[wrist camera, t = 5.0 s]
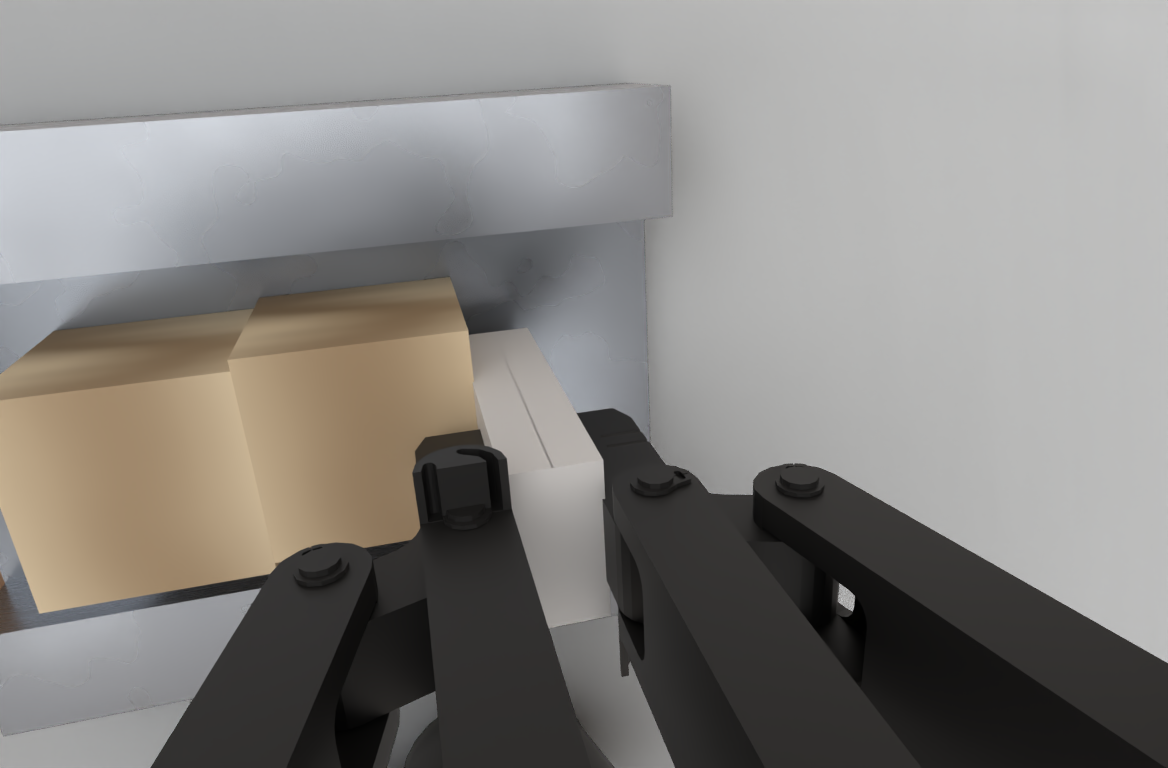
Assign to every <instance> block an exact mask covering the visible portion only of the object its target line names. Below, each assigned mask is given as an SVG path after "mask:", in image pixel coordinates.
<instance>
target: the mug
mask: <svg viewBox="0 0 1168 768" xmlns="http://www.w3.org/2000/svg"><path fill="white" fill-rule="evenodd" d="M576 719H577V718H576ZM577 722H578V726H579V729H580V732H581V735H582V739H583V742H584V745H585V748H586V752H587V755H588V758H589V761H590V765H591V768H614V767H613V765H612V764H611V763H610V762H609V760H608V759H607V758H606V756H605V755H604V754H603V753H602V752H601V750H600V749H599V748H598V747H597V746H596V744H595V743H594V742H593V741H592V740H591V738H590V737H589V736H588V735H587V733H586V732H585V731H584V729H583V728H582V726H581V724H580V723H579V721H578V720H577ZM404 768H443V764H442V753H441V743H440V732H439V722H438V718H437V719H436V720H434V721H433V722H432V723H431V724H430V725H429V726H428V727H427V728H426V729H425V730H424V731H423V733H422V734H421V735H420V736H419V737H418V739H417V740H416V741H415V743H414V745H413V747H412V749H411V750H410V752H409V754H408V756H407V758H406V762H405V767H404Z"/></svg>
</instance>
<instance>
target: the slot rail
mask: <svg viewBox="0 0 1168 768" xmlns="http://www.w3.org/2000/svg"><path fill="white" fill-rule="evenodd" d="M663 217H672V150H671V86H668V85H651V84H634V83H621V84H607V85H592V86H577V87H562V88H547V89H532V90H517V91H502V92H488V93H473V94H458V95H443V96H428V97H413V98H398V99H383V100H369V101H354V102H339V103H324V104H309V105H294V106H279V107H264V108H250V109H235V110H220V111H205V112H190V113H175V114H160V115H145V116H131V117H116V118H101V119H86V120H71V121H56V122H41V123H27V124H12V125H0V374H1V373H2V372H4V371H5V370H6V369H7V368H9V367H10V366H11V365H12V364H14V363H15V362H16V361H17V360H19V359H20V358H21V357H22V356H23V355H25V354H26V353H27V352H28V351H30V350H31V349H32V348H33V347H35V346H36V345H37V344H38V343H40V342H41V341H42V340H43V339H44V338H46V337H47V336H48V335H49V334H51V333H52V332H53V331H57V330H66V329H75V328H84V327H93V326H102V325H111V324H120V323H129V322H138V321H146V320H155V319H164V318H173V317H182V316H191V315H200V314H209V313H218V312H227V311H236V310H245V309H254V307H255V305H256V303H257V301H258V299H259V298H262V297H271V296H280V295H289V294H298V293H308V292H317V291H326V290H335V289H344V288H353V287H362V286H372V285H381V284H390V283H399V282H408V281H417V280H426V279H436V278H445V277H450V279H451V281H452V284H453V287H454V290H455V293H456V296H457V299H458V302H459V305H460V308H461V311H462V314H463V317H464V320H465V322H466V325H467V328H468V333H469V335H472V334H480V333H488V332H496V331H505V330H513V329H521V328H528V330H529V332H530V333H531V335H532V337H533V339H534V340H535V342H536V344H537V346H538V347H539V349H540V351H541V352H542V354H543V356H544V358H545V359H546V361H547V363H548V365H549V366H550V368H551V370H552V372H553V373H554V375H555V377H556V379H557V380H558V382H559V384H560V386H561V387H562V389H563V391H564V392H565V394H566V396H567V398H568V399H569V401H570V403H571V405H572V406H573V408H574V410H575V412H576V413H581V412H588V411H595V410H602V409H608V408H614V409H616V410H618V411H620V412H622V413H624V414H626V415H628V416H630V417H631V418H632V419H633V421H634V422H635V423H636V425H637V426H638V427H639V429H640V432H642V433H643V434H644V436H645V437H646V438H647V442H648V441H649V443H650V420H649V385H648V349H647V313H646V278H645V242H644V219H653V218H663ZM410 541H411V540H408V541H402V542H396V543H390V544H384V545H378V546H372V547H367V548H365V549H366V550H367V551H368V552H369V554H370V555H371V556H372V558H373V560H374V559H377V558H380V557H382V556H385V555H387V554H389V553H392V552H394V551H396V550H398V549H400V548H401V547H403V546H404V545H406V544H407V543H409V542H410ZM280 563H281V562H279V564H280ZM0 572H1V574H2V577H3V580H4V582H5V584H4V585H3V586H2V588H1V589H0V730H1V732H2V734H3V736H8V735H13V734H18V733H23V732H29V731H34V730H39V729H44V728H49V727H54V726H59V725H64V724H69V723H74V722H79V721H84V720H89V719H94V718H99V717H104V716H109V715H114V714H119V713H125V712H130V711H135V710H140V709H145V708H150V707H155V706H160V705H165V704H170V703H175V702H180V701H185V700H190V699H193V698H194V697H195V695H196V694H197V692H198V690H199V689H200V687H201V685H202V684H203V682H204V681H205V679H206V677H207V676H208V674H209V672H210V671H211V669H212V668H213V666H214V664H215V663H216V661H217V660H218V658H219V656H220V655H221V653H222V651H223V650H224V648H225V647H226V645H227V643H228V642H229V640H230V638H231V637H232V635H233V634H234V632H235V630H236V629H237V627H238V626H239V624H240V622H241V621H242V619H243V617H244V616H245V614H246V613H247V611H248V609H249V608H250V606H251V604H252V603H253V601H254V600H255V598H256V596H257V595H258V593H259V591H260V590H261V588H262V587H263V585H264V583H265V582H266V580H267V579H268V577H269V575H270V574H266V575H261V576H255V577H249V578H243V579H237V580H232V581H226V582H220V583H214V584H208V585H203V586H197V587H191V588H185V589H179V590H174V591H168V592H162V593H156V594H150V595H145V596H139V597H133V598H127V599H121V600H116V601H110V602H104V603H98V604H92V605H87V606H81V607H75V608H69V609H64V610H58V611H52V612H46V613H40V614H39V611H38V608H37V606H36V603H35V600H34V598H33V595H32V592H31V590H30V587H29V584H28V581H27V579H26V576H25V573H24V571H23V568H22V565H21V563H20V560H19V557H18V554H17V552H16V549H15V546H14V544H13V541H12V538H11V536H10V533H9V530H8V528H7V525H6V522H5V519H4V517H3V514H2V511H1V509H0ZM610 603H611V616H615V615H618V605H617V603H616V600H615V598H614V596H613V594H612V591H611V589H610ZM609 617H610V616H609ZM604 618H605V617H604ZM599 619H600V618H599ZM558 627H559V626H558ZM553 628H554V627H553Z"/></svg>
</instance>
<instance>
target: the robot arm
mask: <svg viewBox="0 0 1168 768" xmlns="http://www.w3.org/2000/svg"><path fill="white" fill-rule="evenodd" d="M469 342H470V350H471V359H472V368H473V377H474V382H473V391H474V400H475V408H476V417H477V426H478V430H471V431H464V432H457V433H450V434H444V435H437V436H430V437H425V438H424V440H423V441H422V442H421V444H420V445H419V446H418V448H417V449H416V450H415V459H416V464H415V466H414V469H413V472H412V475H413V482H414V489H415V495H416V502H417V509H418V516H419V522H420V529H419V531H418V533H417V534H416V536H415V537H414V538H413V539H412V540H411V541H410V542H409V543H407V544H406V545H404V546H403V547H401V548H400V549H398V550H396V551H394V552H392V553H389V554H387V555H385V556H382V557H380V558H377V559H374V560H373V558H372V556H371V555H370V554H369V552H368V551H367V550H366V549H365V548H363V547H360V546H358V545H355V544H352V543H338V542H335V543H328V544H318V545H314V546H311V547H310V548H309V547H307V548H305V549H302V550H300V551H298V552H296V553H295V554H293V555H291V556H290V557H288V558H286V559H285V560H283V561H282V562H281V563H280V564H279V565H278V566H277V567H276V568H275V569H274V570H273V571H272V572H271V574H270V575H269V577H268V579H267V580H266V582H265V583H264V585H263V587H262V588H261V590H260V591H259V593H258V595H257V596H256V598H255V600H254V601H253V603H252V604H251V606H250V608H249V609H248V611H247V613H246V614H245V616H244V617H243V619H242V621H241V622H240V624H239V626H238V627H237V629H236V630H235V632H234V634H233V635H232V637H231V638H230V640H229V642H228V643H227V645H226V647H225V648H224V650H223V651H222V653H221V655H220V656H219V658H218V660H217V661H216V663H215V664H214V666H213V668H212V669H211V671H210V672H209V674H208V676H207V677H206V679H205V681H204V682H203V684H202V685H201V687H200V689H199V690H198V692H197V694H196V695H195V697H194V698H193V700H192V702H191V703H190V705H189V707H188V708H187V710H186V711H185V713H184V715H183V716H182V718H181V719H180V721H179V723H178V724H177V726H176V728H175V729H174V731H173V732H172V734H171V736H170V737H169V739H168V741H167V742H166V744H165V745H164V747H163V749H162V750H161V752H160V753H159V755H158V757H157V758H156V760H155V762H154V763H153V765H152V766H151V768H387V766H388V762H389V759H390V755H391V752H392V748H393V745H394V741H395V738H396V734H397V731H398V727H399V717H400V710H399V708H400V707H402V706H404V705H406V704H408V703H410V702H412V701H415V700H417V699H419V698H421V697H423V696H425V695H427V694H430V693H432V692H434V691H436V700H437V711H438V722H439V732H440V743H441V753H442V764H443V768H591V765H590V761H589V758H588V755H587V752H586V748H585V745H584V742H583V739H582V735H581V732H580V729H579V726H578V722H577V719H576V716H575V713H574V709H573V706H572V703H571V700H570V696H569V693H568V690H567V687H566V683H565V680H564V677H563V674H562V670H561V667H560V664H559V661H558V657H557V654H556V651H555V648H554V644H553V641H552V638H551V635H550V631H549V628H553V627H558V626H564V625H569V624H574V623H579V622H584V621H589V620H594V619H599V618H604V617H609V616H611V603H610V589H611V591H612V594H613V596H614V598H615V600H616V603H617V605H618V622H619V644H620V665H621V675H622V677H624V676H628V675H629V669H628V664H629V663H630V661H631V664H632V666H633V669H634V671H635V673H636V676H637V678H638V680H639V683H640V685H641V688H642V690H643V692H644V695H645V697H646V699H647V702H648V704H649V706H650V709H651V711H652V714H653V716H654V718H655V721H656V723H657V725H658V728H659V730H660V733H661V735H662V737H663V740H664V742H665V744H666V747H667V749H668V752H669V754H670V756H671V759H672V761H673V763H674V766H675V768H1168V663H1166V662H1164V661H1163V660H1161V659H1159V658H1157V657H1156V656H1154V655H1152V654H1150V653H1149V652H1147V651H1145V650H1143V649H1142V648H1140V647H1138V646H1136V645H1135V644H1133V643H1131V642H1129V641H1127V640H1126V639H1124V638H1122V637H1120V636H1119V635H1117V634H1115V633H1113V632H1112V631H1110V630H1108V629H1106V628H1105V627H1103V626H1101V625H1099V624H1098V623H1096V622H1094V621H1092V620H1090V619H1089V618H1087V617H1085V616H1083V615H1082V614H1080V613H1078V612H1076V611H1075V610H1073V609H1071V608H1069V607H1068V606H1066V605H1064V604H1062V603H1061V602H1059V601H1057V600H1055V599H1053V598H1052V597H1050V596H1048V595H1046V594H1045V593H1043V592H1041V591H1039V590H1038V589H1036V588H1034V587H1032V586H1031V585H1029V584H1027V583H1025V582H1024V581H1022V580H1020V579H1018V578H1017V577H1015V576H1013V575H1011V574H1009V573H1008V572H1006V571H1004V570H1002V569H1001V568H999V567H997V566H995V565H994V564H992V563H990V562H988V561H987V560H985V559H983V558H981V557H980V556H978V555H976V554H974V553H972V552H971V551H969V550H967V549H965V548H964V547H962V546H960V545H958V544H957V543H955V542H953V541H951V540H950V539H948V538H946V537H944V536H943V535H941V534H939V533H937V532H935V531H934V530H932V529H930V528H928V527H927V526H925V525H923V524H921V523H920V522H918V521H916V520H914V519H913V518H911V517H909V516H907V515H906V514H904V513H902V512H900V511H898V510H897V509H895V508H893V507H891V506H890V505H888V504H886V503H884V502H883V501H881V500H879V499H877V498H876V497H874V496H872V495H870V494H869V493H867V492H865V491H863V490H861V489H860V488H858V487H856V486H854V485H853V484H851V483H849V482H847V481H846V480H844V479H842V478H840V477H839V476H837V475H835V474H833V473H831V472H828V471H826V470H823V469H821V468H817V467H812V466H807V465H805V464H795V465H793V463H792V464H783V465H780V466H775V467H770V468H768V469H766V470H764V471H762V472H760V473H759V474H758V475H757V476H756V478H755V479H754V480H753V495H723V494H711V493H709V492H708V491H707V490H706V489H705V487H704V486H703V485H702V483H701V482H700V481H699V480H698V478H697V477H695V476H694V475H693V474H692V473H690V472H689V471H687V470H684V469H681V468H679V467H676V466H669V465H665V463H664V462H663V461H662V459H661V458H660V456H659V455H658V454H657V452H656V451H655V449H654V448H653V447H652V445H651V444H650V443H649V441H648V442H647V438H646V437H645V436H644V434H643V433H642V432H640V429H639V427H638V426H637V425H636V423H635V422H634V421H633V419H632V418H631V417H630V416H628V415H626V414H624V413H622V412H620V411H618V410H616V409H614V408H608V409H602V410H595V411H588V412H581V413H576V412H575V410H574V408H573V406H572V405H571V403H570V401H569V399H568V398H567V396H566V394H565V392H564V391H563V389H562V387H561V386H560V384H559V382H558V380H557V379H556V377H555V375H554V373H553V372H552V370H551V368H550V366H549V365H548V363H547V361H546V359H545V358H544V356H543V354H542V352H541V351H540V349H539V347H538V346H537V344H536V342H535V340H534V339H533V337H532V335H531V333H530V332H529V330H528V328H521V329H513V330H505V331H496V332H488V333H480V334H472V335H469ZM839 583H840V584H842V585H843V586H844V587H846V588H847V589H849V590H850V591H851V592H852V593H853V594H854V595H855V605H854V610H853V612H852V611H850V610H848V609H847V608H845V607H844V606H843V605H841V604H840V603H839V602H838V592H839Z"/></svg>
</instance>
